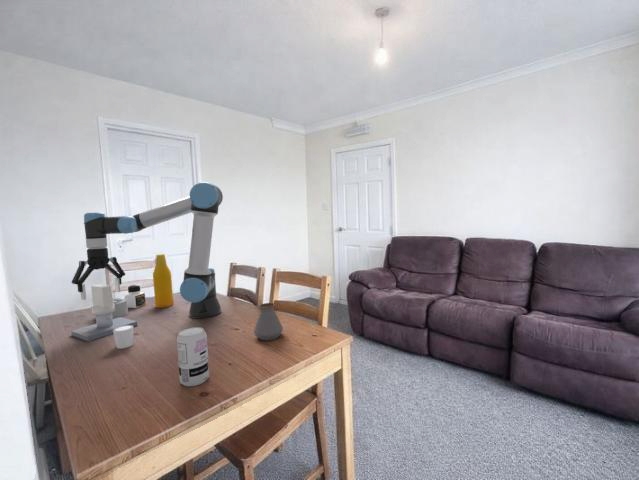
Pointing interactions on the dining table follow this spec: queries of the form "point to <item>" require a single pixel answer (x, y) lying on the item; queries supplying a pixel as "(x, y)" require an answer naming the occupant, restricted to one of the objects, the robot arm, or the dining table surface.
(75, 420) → the dining table surface
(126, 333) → the shot glass
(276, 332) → the coffee pot
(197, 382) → the supplement can
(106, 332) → the post plinth
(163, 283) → the beer bottle
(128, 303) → the medicine bottle
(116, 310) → the lumpy-topped squat cylinder
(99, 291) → the white round-based slab
